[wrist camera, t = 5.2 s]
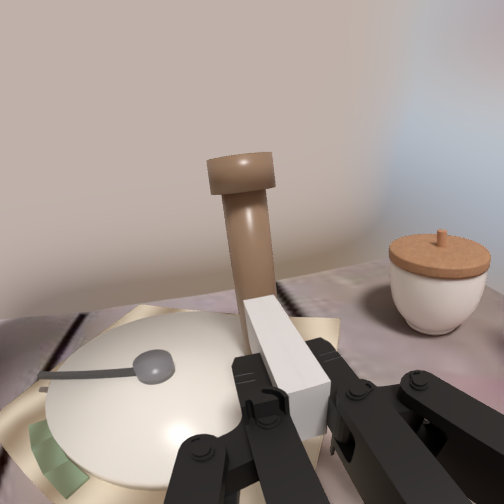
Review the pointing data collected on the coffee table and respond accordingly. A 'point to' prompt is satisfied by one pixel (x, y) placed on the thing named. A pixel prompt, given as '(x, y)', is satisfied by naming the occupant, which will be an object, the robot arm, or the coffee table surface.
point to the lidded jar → (437, 280)
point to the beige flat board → (81, 482)
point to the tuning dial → (168, 357)
